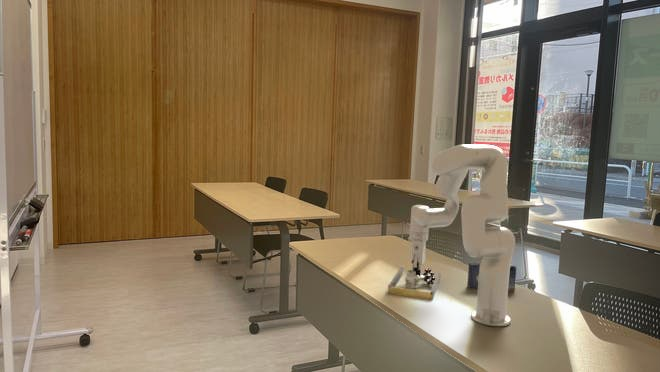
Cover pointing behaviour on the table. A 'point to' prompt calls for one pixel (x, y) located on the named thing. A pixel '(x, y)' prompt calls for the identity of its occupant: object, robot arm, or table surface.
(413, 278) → the valve
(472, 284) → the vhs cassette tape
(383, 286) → the table surface
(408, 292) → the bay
